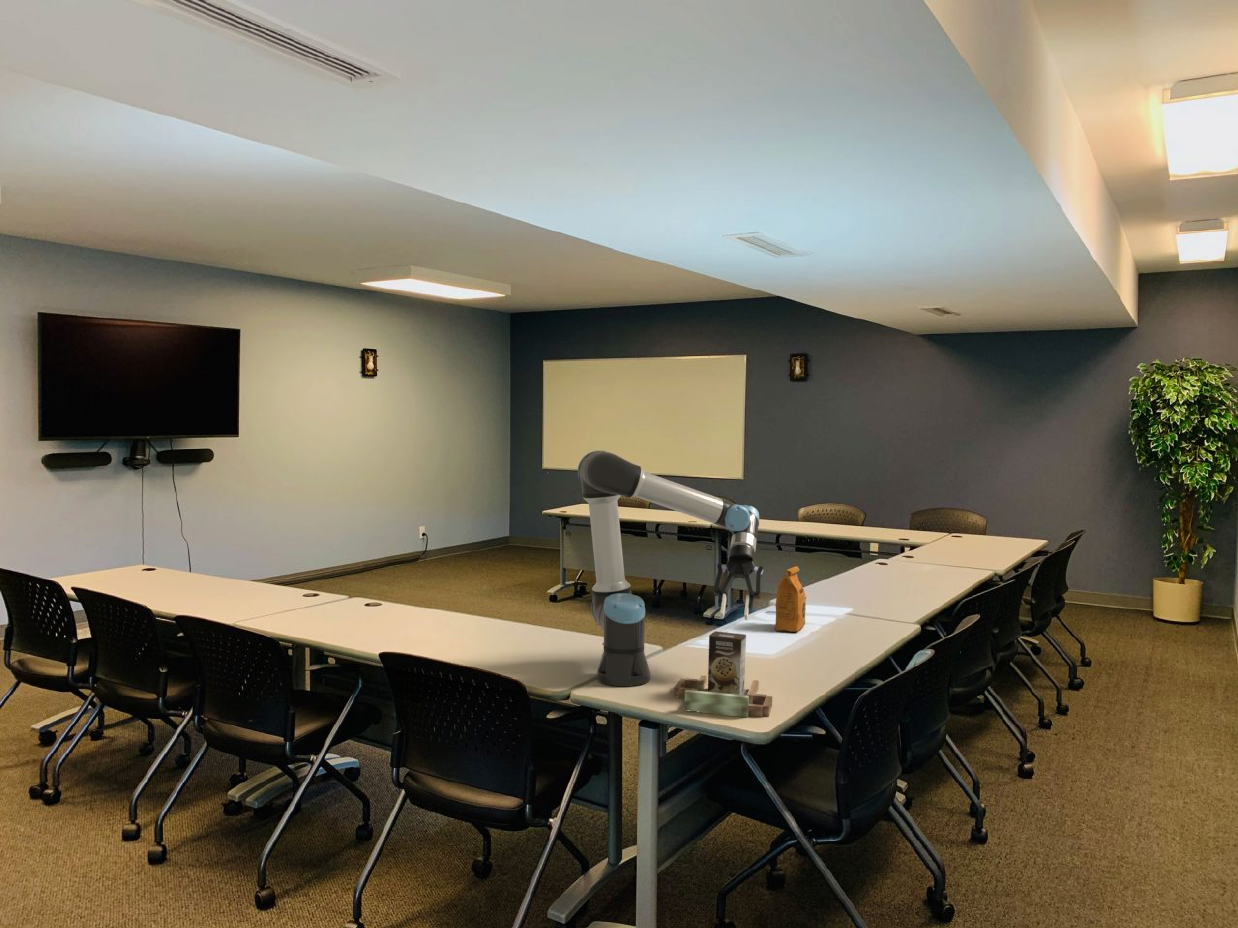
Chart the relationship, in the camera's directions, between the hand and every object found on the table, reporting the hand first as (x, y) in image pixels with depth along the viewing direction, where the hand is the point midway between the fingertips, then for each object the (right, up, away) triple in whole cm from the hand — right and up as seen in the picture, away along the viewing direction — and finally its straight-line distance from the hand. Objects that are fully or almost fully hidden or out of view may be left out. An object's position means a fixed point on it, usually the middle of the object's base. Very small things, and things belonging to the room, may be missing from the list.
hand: (733, 616), depth 246 cm
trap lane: (-5, -19, -17) cm, 26 cm away
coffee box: (-4, -19, -11) cm, 22 cm away
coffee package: (+28, -16, +62) cm, 70 cm away
